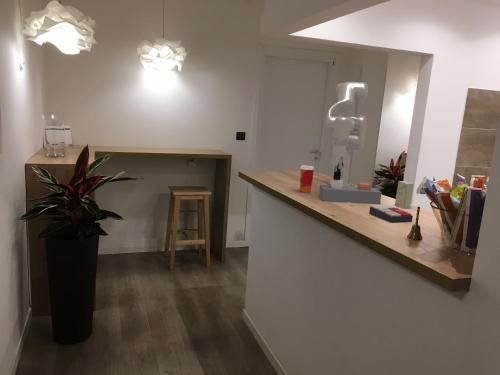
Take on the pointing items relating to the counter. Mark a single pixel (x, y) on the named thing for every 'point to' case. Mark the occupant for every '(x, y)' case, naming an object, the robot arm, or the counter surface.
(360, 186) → the red plug
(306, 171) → the paper cup
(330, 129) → the robot arm
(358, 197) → the plug block
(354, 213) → the counter surface
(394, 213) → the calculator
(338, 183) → the grey plug
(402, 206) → the skincare box
